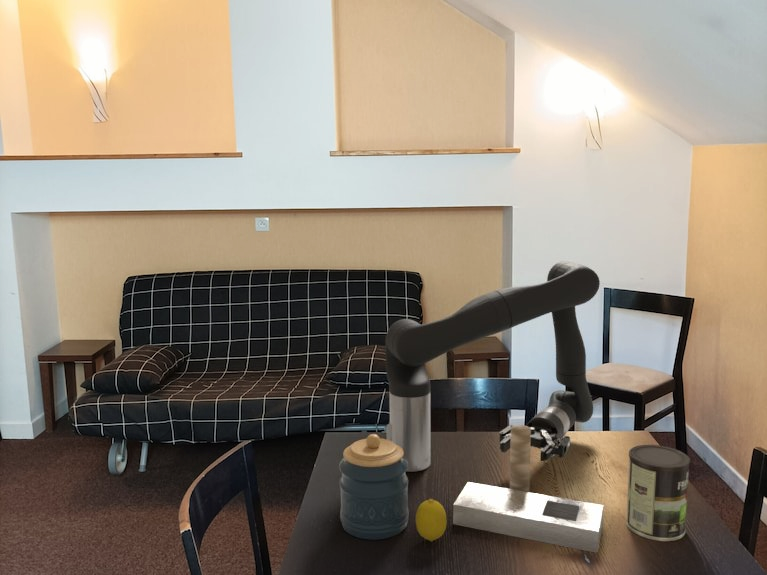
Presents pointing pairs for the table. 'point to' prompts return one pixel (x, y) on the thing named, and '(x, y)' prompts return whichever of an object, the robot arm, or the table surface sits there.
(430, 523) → the lemon
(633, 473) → the coffee can
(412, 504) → the table surface
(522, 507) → the block
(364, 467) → the canister
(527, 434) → the peg
